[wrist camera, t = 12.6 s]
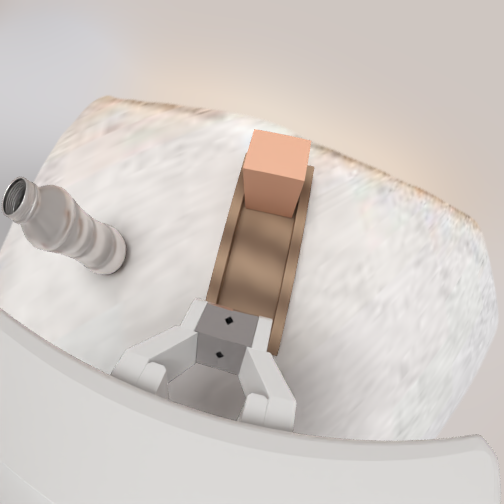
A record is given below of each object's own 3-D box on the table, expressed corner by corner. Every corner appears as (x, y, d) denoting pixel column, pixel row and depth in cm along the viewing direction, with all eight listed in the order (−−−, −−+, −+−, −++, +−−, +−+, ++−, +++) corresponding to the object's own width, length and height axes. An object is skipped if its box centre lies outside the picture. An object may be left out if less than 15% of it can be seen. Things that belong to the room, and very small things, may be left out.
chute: (275, 353, 33) (277, 356, 29) (201, 335, 33) (194, 337, 29) (310, 177, 38) (315, 163, 35) (246, 164, 39) (245, 148, 35)
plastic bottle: (102, 286, 35) (-4, 250, 15) (86, 246, 36) (-9, 191, 17) (138, 261, 36) (44, 203, 16) (120, 222, 37) (35, 147, 18)
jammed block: (291, 218, 36) (304, 180, 26) (245, 208, 36) (242, 168, 26) (298, 184, 37) (311, 140, 27) (254, 175, 37) (254, 129, 27)
